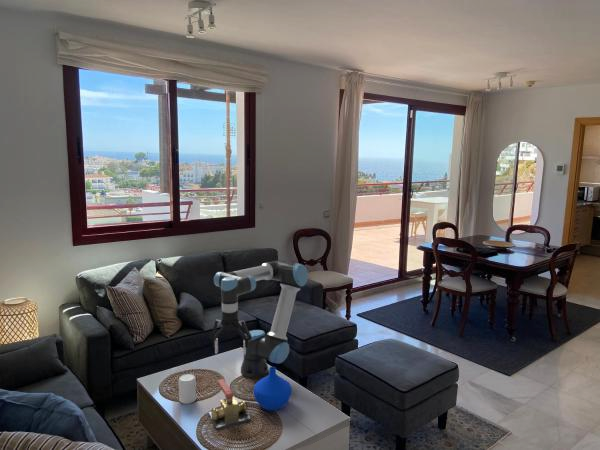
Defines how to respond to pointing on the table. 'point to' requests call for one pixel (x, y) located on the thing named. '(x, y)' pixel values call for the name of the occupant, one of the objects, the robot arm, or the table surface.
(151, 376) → the table surface
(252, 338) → the robot arm
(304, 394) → the table surface
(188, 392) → the white cylindrical piece
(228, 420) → the valve fixture
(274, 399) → the vase
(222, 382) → the lever
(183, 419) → the table surface
